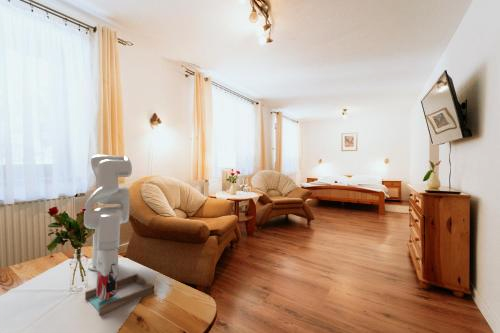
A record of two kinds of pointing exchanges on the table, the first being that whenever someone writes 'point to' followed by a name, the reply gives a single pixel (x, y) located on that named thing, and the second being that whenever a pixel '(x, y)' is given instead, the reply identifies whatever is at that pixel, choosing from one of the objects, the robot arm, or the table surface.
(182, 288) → the table surface
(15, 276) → the table surface
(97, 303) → the front mat
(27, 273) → the table surface
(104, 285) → the soda can
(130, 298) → the bay
